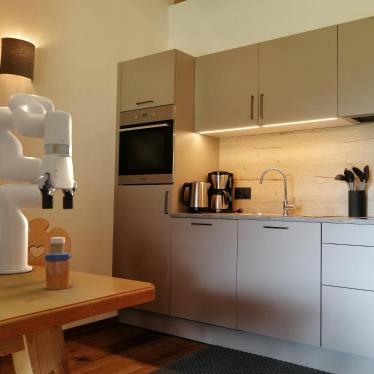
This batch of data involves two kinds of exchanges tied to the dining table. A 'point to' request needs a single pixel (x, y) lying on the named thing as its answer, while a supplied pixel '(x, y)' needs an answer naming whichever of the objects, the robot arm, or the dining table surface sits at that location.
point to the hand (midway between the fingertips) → (58, 209)
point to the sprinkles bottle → (57, 244)
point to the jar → (57, 274)
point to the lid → (57, 256)
